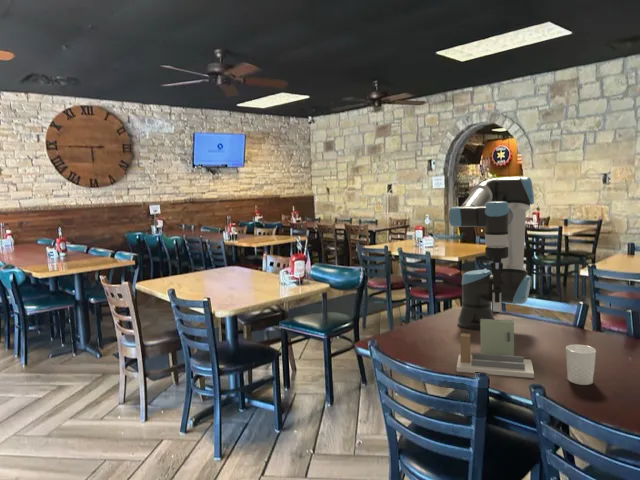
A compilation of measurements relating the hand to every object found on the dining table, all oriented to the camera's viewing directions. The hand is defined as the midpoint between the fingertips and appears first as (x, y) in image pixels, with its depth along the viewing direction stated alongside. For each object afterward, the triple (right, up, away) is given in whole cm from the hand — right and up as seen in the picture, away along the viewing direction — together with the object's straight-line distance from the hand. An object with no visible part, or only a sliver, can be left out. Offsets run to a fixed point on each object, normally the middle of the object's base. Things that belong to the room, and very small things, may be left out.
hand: (496, 306), depth 170 cm
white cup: (+17, -19, -23) cm, 35 cm away
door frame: (-4, -19, -11) cm, 22 cm away
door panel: (+1, -17, +2) cm, 17 cm away
